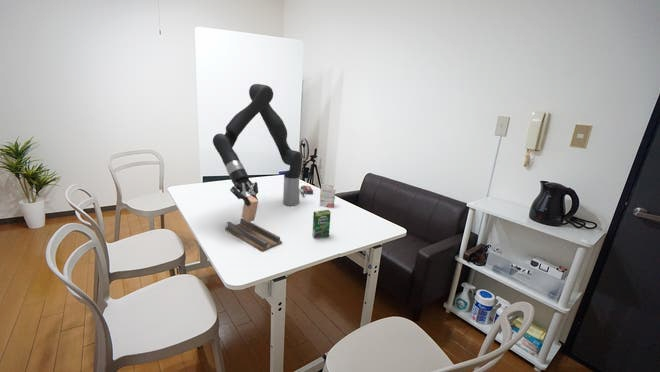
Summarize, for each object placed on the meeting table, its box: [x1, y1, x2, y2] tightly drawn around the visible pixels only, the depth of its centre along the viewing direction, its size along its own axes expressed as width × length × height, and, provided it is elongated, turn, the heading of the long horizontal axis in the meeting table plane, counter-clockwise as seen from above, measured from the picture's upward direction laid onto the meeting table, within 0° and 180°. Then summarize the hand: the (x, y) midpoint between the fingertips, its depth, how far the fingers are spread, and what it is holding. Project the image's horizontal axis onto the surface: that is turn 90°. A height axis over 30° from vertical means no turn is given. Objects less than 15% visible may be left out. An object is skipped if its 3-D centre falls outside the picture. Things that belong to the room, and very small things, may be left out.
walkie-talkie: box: [300, 185, 314, 198], centre depth 203 cm, size 9×4×20 cm
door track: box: [224, 217, 283, 252], centre depth 134 cm, size 11×28×4 cm, turn 51°
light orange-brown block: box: [241, 195, 259, 223], centre depth 132 cm, size 4×5×11 cm
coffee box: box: [312, 209, 331, 239], centre depth 139 cm, size 8×3×13 cm, turn 114°
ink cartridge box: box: [319, 183, 336, 209], centre depth 180 cm, size 9×5×15 cm, turn 76°
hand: (252, 204), depth 130 cm, fingers closed on light orange-brown block, 3 cm apart
